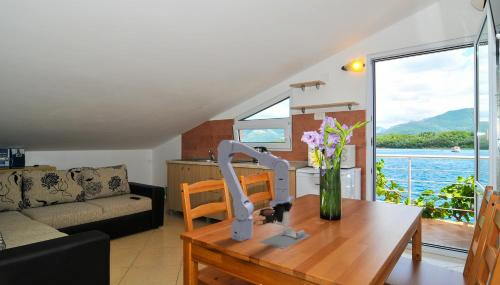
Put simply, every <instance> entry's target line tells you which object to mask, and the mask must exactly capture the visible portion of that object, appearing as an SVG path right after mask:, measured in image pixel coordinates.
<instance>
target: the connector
mask: <svg viewBox="0 0 500 285" xmlns="http://www.w3.org/2000/svg"><path fill="white" fill-rule="evenodd" d="M289 214H290V211H289V212H288V211H285V209H284V212H283V220H282V222H277V221H276V225H279V226H282V227H286V226H289V224H290V222H289V220H290V215H289Z"/></svg>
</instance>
